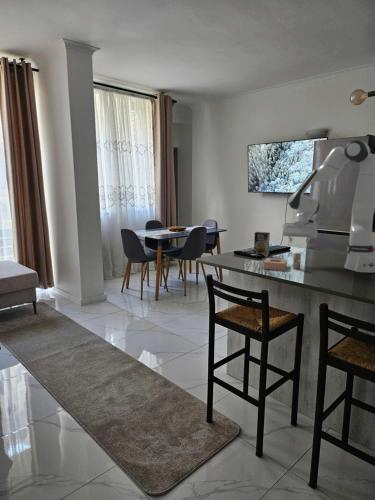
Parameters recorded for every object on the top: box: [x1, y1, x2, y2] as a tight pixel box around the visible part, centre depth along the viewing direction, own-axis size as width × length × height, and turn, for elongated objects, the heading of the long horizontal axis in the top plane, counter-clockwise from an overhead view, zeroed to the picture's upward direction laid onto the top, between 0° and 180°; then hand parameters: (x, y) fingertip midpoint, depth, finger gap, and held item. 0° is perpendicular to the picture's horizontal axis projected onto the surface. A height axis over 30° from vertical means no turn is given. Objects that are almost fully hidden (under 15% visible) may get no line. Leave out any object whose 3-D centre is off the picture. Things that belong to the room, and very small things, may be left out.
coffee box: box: [253, 231, 271, 258], centre depth 234 cm, size 9×6×16 cm
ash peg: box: [292, 252, 302, 270], centre depth 198 cm, size 4×4×9 cm
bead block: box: [262, 257, 288, 272], centre depth 202 cm, size 12×12×4 cm
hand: (298, 241), depth 206 cm, fingers open, 8 cm apart
